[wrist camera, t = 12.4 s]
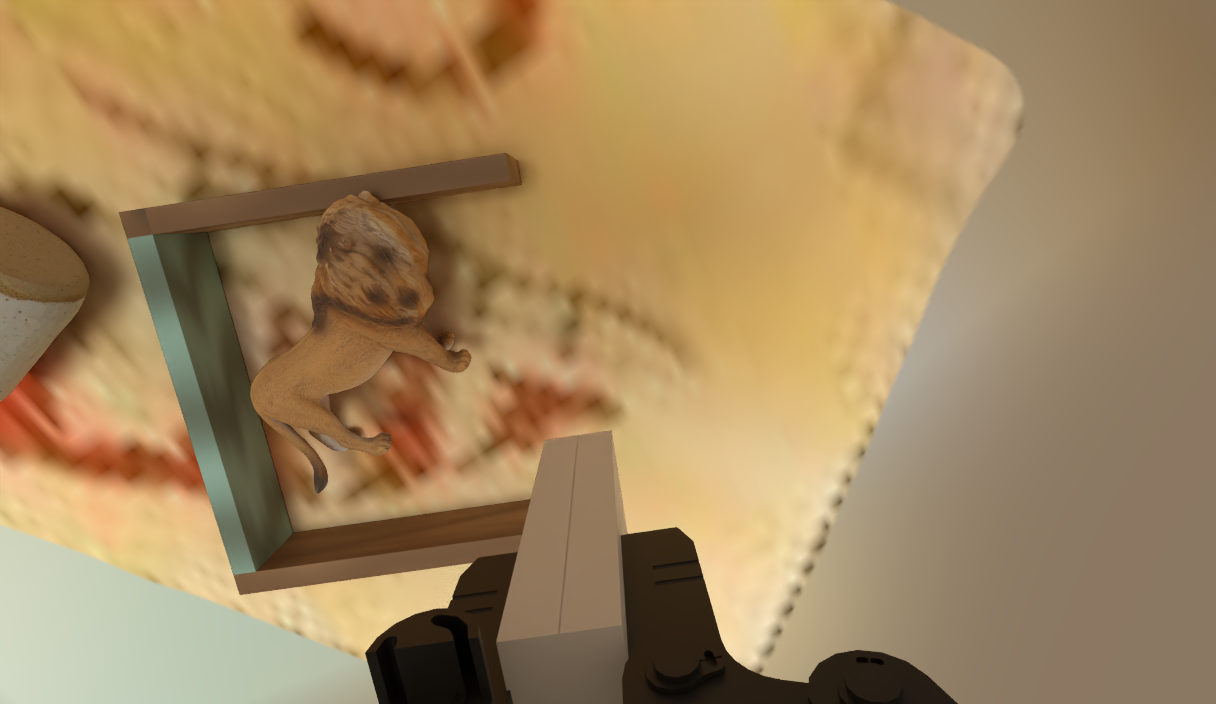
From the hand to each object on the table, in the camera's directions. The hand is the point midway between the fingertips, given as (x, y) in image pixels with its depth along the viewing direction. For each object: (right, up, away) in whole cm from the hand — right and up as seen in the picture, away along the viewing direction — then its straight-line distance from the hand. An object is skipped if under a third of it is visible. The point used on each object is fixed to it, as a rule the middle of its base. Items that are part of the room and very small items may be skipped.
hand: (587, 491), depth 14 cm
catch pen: (-12, +2, +20) cm, 23 cm away
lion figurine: (-10, +1, +19) cm, 21 cm away
